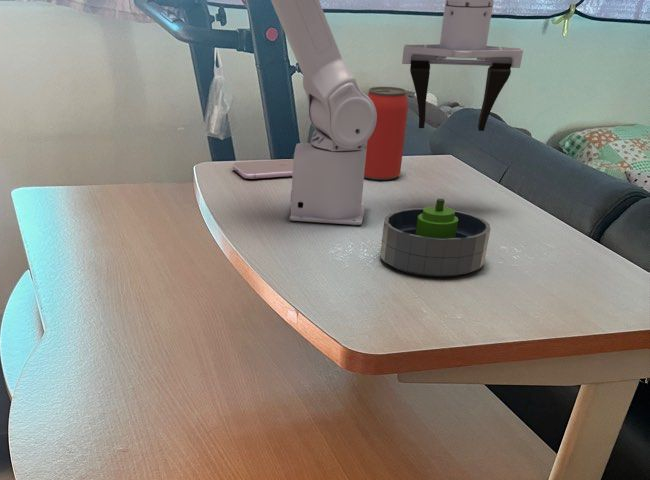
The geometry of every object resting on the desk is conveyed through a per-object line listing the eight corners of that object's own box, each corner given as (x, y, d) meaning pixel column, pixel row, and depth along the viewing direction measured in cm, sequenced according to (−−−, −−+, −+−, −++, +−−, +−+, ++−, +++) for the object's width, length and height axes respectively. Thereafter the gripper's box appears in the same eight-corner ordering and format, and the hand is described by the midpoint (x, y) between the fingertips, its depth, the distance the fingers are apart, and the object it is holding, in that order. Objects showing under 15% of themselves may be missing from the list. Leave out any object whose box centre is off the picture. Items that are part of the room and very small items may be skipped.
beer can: (358, 169, 133) (365, 85, 125) (399, 171, 132) (409, 86, 125) (356, 180, 127) (364, 92, 120) (400, 182, 127) (410, 94, 119)
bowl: (377, 275, 94) (382, 235, 91) (382, 242, 103) (386, 205, 101) (485, 283, 92) (493, 242, 90) (480, 249, 102) (487, 211, 99)
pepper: (412, 262, 96) (420, 203, 92) (412, 250, 100) (420, 192, 96) (452, 265, 95) (462, 206, 91) (451, 253, 99) (460, 195, 95)
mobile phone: (230, 161, 131) (318, 155, 135) (230, 168, 132) (317, 162, 135) (245, 173, 125) (336, 167, 129) (245, 180, 126) (336, 173, 130)
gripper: (407, 6, 98) (394, 131, 107) (533, 10, 96) (510, 137, 105) (408, 1, 104) (396, 120, 112) (527, 4, 102) (505, 125, 110)
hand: (451, 128), depth 109 cm, fingers open, 7 cm apart
